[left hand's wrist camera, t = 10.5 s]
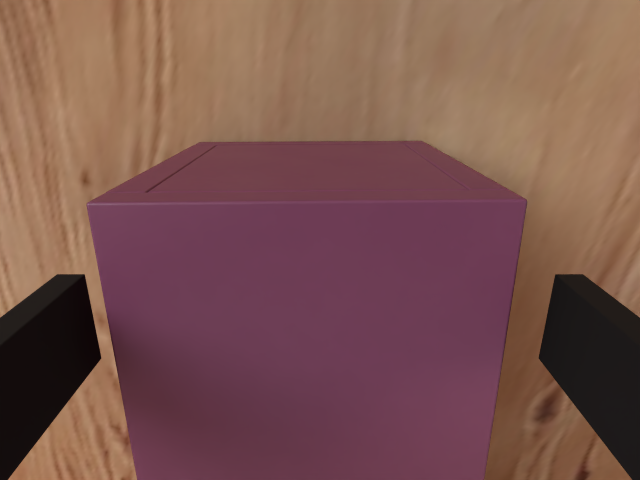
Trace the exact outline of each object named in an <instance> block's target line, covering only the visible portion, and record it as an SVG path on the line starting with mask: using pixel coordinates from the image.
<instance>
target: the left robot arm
mask: <svg viewBox="0 0 640 480" xmlns="http://www.w3.org/2000/svg"><path fill="white" fill-rule="evenodd" d="M100 359H101V354H100V349H99V344H98V339H97V334H96V329H95V324H94V319H93V314H92V309H91V304H90V299H89V294H88V289H87V284H86V279H85V274H57V275H56V276H54V277H53V278H52V279H51V280H49V281H48V282H47V283H45V284H44V285H43V286H41V287H40V288H39V289H37V290H36V291H35V292H33V293H32V294H31V295H30V296H28V297H27V298H26V299H24V300H23V301H22V302H20V303H19V304H18V305H16V306H15V307H14V308H12V309H11V310H10V311H8V312H7V313H6V314H5V315H3V316H2V317H1V318H0V480H8V479H9V477H10V476H11V475H12V473H13V472H14V471H15V470H16V468H17V467H18V466H19V464H20V463H21V462H22V460H23V459H24V458H25V457H26V455H27V454H28V453H29V451H30V450H31V449H32V447H33V446H34V445H35V444H36V442H37V441H38V440H39V438H40V437H41V436H42V435H43V433H44V432H45V431H46V429H47V428H48V427H49V425H50V424H51V423H52V422H53V420H54V419H55V418H56V416H57V415H58V414H59V412H60V411H61V410H62V409H63V407H64V406H65V405H66V403H67V402H68V401H69V399H70V398H71V397H72V396H73V394H74V393H75V392H76V390H77V389H78V388H79V387H80V385H81V384H82V383H83V381H84V380H85V379H86V377H87V376H88V375H89V374H90V372H91V371H92V370H93V368H94V367H95V366H96V364H97V363H98V362H99V361H100ZM539 359H540V361H541V362H542V363H543V364H544V366H545V367H546V368H547V370H548V371H549V372H550V374H551V375H552V376H553V377H554V379H555V380H556V381H557V383H558V384H559V385H560V387H561V388H562V389H563V390H564V392H565V393H566V394H567V396H568V397H569V398H570V399H571V401H572V402H573V403H574V405H575V406H576V407H577V409H578V410H579V411H580V412H581V414H582V415H583V416H584V418H585V419H586V420H587V422H588V423H589V424H590V425H591V427H592V428H593V429H594V431H595V432H596V433H597V435H598V436H599V437H600V438H601V440H602V441H603V442H604V444H605V445H606V446H607V447H608V449H609V450H610V451H611V453H612V454H613V455H614V457H615V458H616V459H617V460H618V462H619V463H620V464H621V466H622V467H623V468H624V470H625V471H626V472H627V473H628V475H629V476H630V477H631V479H632V480H640V318H639V317H638V316H637V315H635V314H634V313H633V312H632V311H630V310H629V309H628V308H626V307H625V306H624V305H622V304H621V303H620V302H618V301H617V300H616V299H614V298H613V297H612V296H610V295H609V294H608V293H607V292H605V291H604V290H603V289H601V288H600V287H599V286H597V285H596V284H595V283H593V282H592V281H591V280H589V279H588V278H587V277H586V276H584V275H583V274H555V279H554V284H553V289H552V294H551V299H550V304H549V309H548V314H547V319H546V324H545V329H544V334H543V339H542V344H541V349H540V354H539Z"/></svg>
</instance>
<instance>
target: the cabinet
mask: <svg viewBox="0 0 640 480" xmlns="http://www.w3.org/2000/svg"><path fill="white" fill-rule="evenodd" d="M526 206H527V200H526V199H525V198H523V197H521V196H519V195H518V194H516V193H514V192H512V191H510V190H509V189H507V188H505V187H503V186H502V185H500V184H498V183H496V182H494V181H493V180H491V179H489V178H487V177H486V176H484V175H482V174H480V173H478V172H477V171H475V170H473V169H471V168H469V167H468V166H466V165H464V164H462V163H461V162H459V161H457V160H455V159H453V158H452V157H450V156H448V155H446V154H444V153H443V152H441V151H439V150H437V149H436V148H434V147H432V146H430V145H428V144H426V143H424V142H423V141H332V142H199V143H197V144H196V145H193V146H191V147H189V148H188V149H186V150H184V151H182V152H180V153H178V154H176V155H175V156H173V157H171V158H169V159H167V160H165V161H163V162H162V163H160V164H158V165H156V166H154V167H152V168H150V169H149V170H147V171H145V172H143V173H141V174H139V175H137V176H136V177H134V178H132V179H130V180H128V181H126V182H124V183H123V184H121V185H119V186H117V187H115V188H113V189H111V190H110V191H108V192H106V193H105V194H103V195H101V196H99V197H97V198H95V199H93V200H92V201H90V202H88V203H87V209H88V215H89V220H90V226H91V231H92V237H93V242H94V247H95V253H96V258H97V264H98V269H99V274H100V280H101V285H102V291H103V296H104V302H105V307H106V312H107V318H108V323H109V329H110V334H111V340H112V345H113V350H114V356H115V361H116V367H117V372H118V377H119V383H120V388H121V394H122V399H123V405H124V410H125V415H126V421H127V426H128V432H129V437H130V443H131V448H132V453H133V459H134V464H135V470H136V475H137V480H484V477H485V471H486V464H487V458H488V451H489V445H490V438H491V432H492V425H493V419H494V413H495V406H496V400H497V393H498V387H499V380H500V374H501V367H502V361H503V355H504V348H505V342H506V335H507V329H508V322H509V316H510V309H511V303H512V296H513V290H514V284H515V277H516V271H517V264H518V258H519V251H520V245H521V238H522V232H523V226H524V219H525V213H526Z"/></svg>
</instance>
